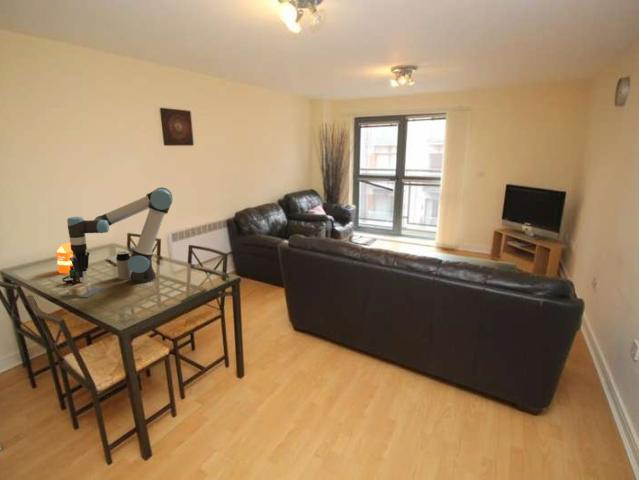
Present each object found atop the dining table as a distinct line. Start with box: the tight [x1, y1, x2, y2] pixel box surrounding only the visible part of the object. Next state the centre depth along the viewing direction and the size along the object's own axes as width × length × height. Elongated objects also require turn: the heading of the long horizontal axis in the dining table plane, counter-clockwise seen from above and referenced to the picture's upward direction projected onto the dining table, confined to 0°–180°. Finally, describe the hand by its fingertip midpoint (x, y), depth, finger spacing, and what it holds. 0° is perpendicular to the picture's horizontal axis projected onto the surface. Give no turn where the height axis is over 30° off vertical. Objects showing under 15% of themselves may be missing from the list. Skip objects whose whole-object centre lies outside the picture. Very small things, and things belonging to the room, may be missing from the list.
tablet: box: [106, 254, 117, 266], centre depth 257 cm, size 16×26×2 cm, turn 51°
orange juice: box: [55, 241, 73, 274], centre depth 229 cm, size 8×9×20 cm
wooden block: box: [67, 283, 91, 296], centre depth 195 cm, size 7×4×8 cm
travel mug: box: [115, 250, 132, 280], centre depth 221 cm, size 8×8×18 cm
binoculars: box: [62, 266, 81, 286], centre depth 209 cm, size 9×11×10 cm
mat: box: [60, 286, 105, 299], centre depth 197 cm, size 16×14×1 cm
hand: (83, 281), depth 197 cm, fingers closed
